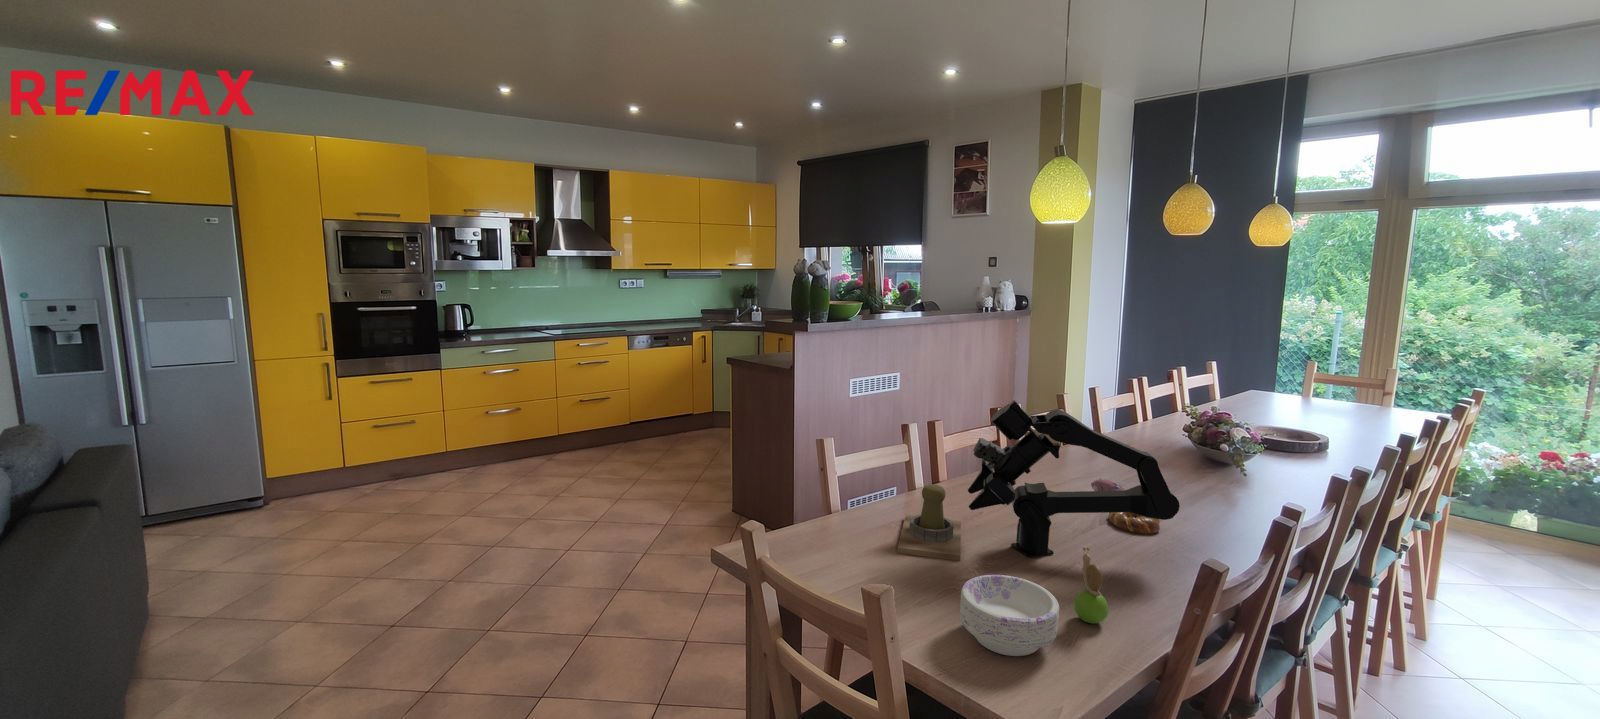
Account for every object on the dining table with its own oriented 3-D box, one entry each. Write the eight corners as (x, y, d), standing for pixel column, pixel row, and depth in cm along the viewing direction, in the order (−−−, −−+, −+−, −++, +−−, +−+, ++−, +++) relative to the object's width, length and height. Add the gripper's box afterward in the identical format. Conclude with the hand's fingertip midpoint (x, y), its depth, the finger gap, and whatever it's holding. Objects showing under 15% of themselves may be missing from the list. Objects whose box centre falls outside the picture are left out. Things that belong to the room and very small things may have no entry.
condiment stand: (905, 519, 160) (906, 504, 159) (960, 525, 157) (961, 510, 156) (897, 552, 141) (898, 536, 140) (960, 560, 137) (961, 543, 137)
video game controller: (1092, 500, 181) (1086, 479, 179) (1103, 491, 183) (1097, 471, 181) (1123, 512, 173) (1117, 491, 170) (1135, 503, 174) (1129, 481, 172)
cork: (927, 525, 153) (930, 480, 151) (950, 533, 148) (953, 486, 147) (912, 532, 149) (914, 485, 147) (935, 540, 144) (937, 492, 143)
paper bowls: (1017, 680, 97) (1020, 630, 96) (939, 633, 110) (941, 588, 109) (1075, 647, 106) (1079, 601, 105) (997, 607, 119) (1000, 566, 117)
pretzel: (1096, 521, 163) (1097, 506, 162) (1125, 514, 168) (1126, 500, 167) (1140, 539, 152) (1142, 523, 152) (1170, 531, 157) (1172, 516, 157)
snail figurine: (1095, 610, 118) (1100, 546, 117) (1112, 630, 112) (1119, 562, 110) (1065, 610, 118) (1070, 546, 117) (1081, 629, 112) (1087, 562, 110)
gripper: (994, 416, 151) (944, 460, 155) (999, 441, 133) (942, 489, 137) (1029, 451, 150) (977, 493, 155) (1039, 480, 133) (981, 528, 137)
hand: (969, 500), depth 146 cm, fingers open, 9 cm apart
